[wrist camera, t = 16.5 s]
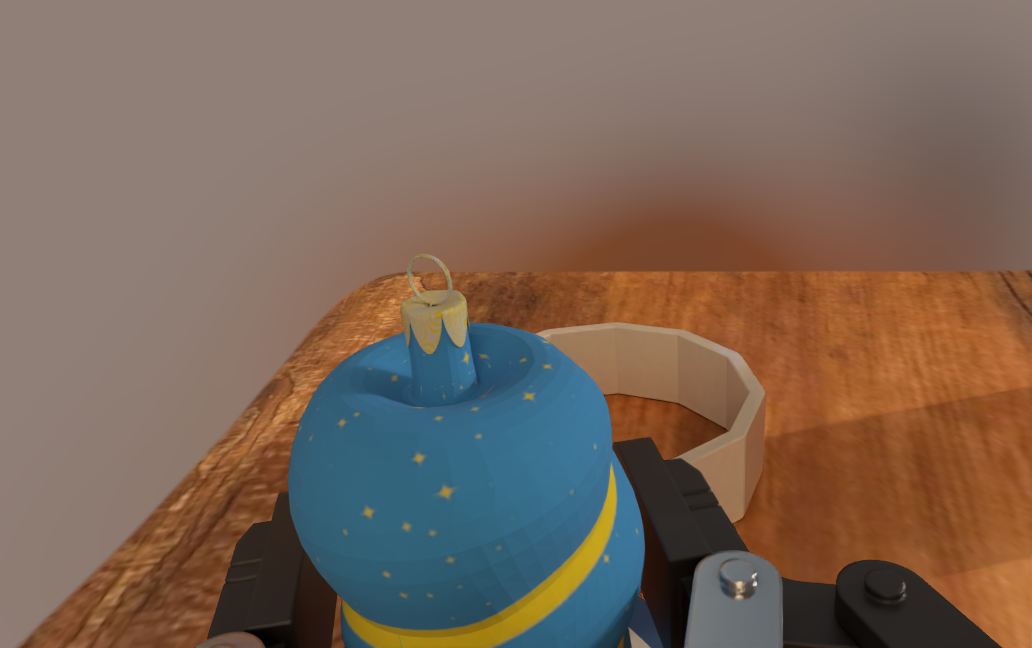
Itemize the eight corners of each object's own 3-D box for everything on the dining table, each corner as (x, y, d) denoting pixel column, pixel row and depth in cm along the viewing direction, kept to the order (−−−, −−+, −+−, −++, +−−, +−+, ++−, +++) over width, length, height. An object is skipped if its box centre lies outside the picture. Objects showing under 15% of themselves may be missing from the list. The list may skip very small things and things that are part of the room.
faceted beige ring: (624, 365, 40) (621, 302, 39) (826, 471, 31) (832, 392, 29) (407, 452, 35) (394, 382, 33) (569, 616, 25) (561, 527, 24)
